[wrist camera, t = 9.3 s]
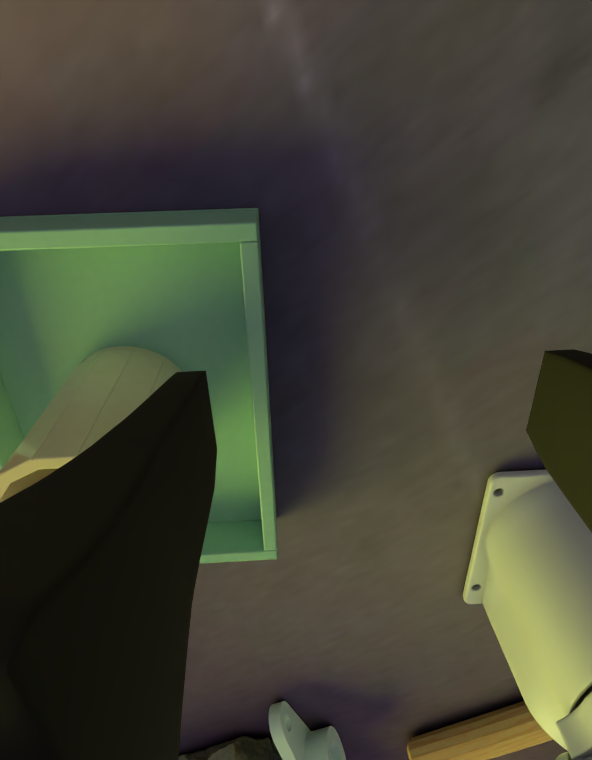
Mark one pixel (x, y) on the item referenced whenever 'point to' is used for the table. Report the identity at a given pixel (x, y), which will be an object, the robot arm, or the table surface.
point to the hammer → (480, 736)
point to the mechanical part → (302, 737)
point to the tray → (149, 335)
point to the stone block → (238, 750)
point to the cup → (85, 411)
